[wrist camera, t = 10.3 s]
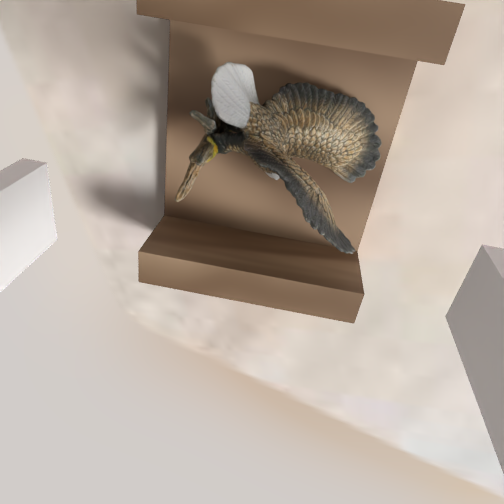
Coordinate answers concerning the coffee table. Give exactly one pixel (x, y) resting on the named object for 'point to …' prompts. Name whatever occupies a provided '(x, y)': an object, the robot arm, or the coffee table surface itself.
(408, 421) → the coffee table surface
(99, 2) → the coffee table surface
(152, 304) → the coffee table surface
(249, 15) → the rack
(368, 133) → the eagle figurine
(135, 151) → the coffee table surface
